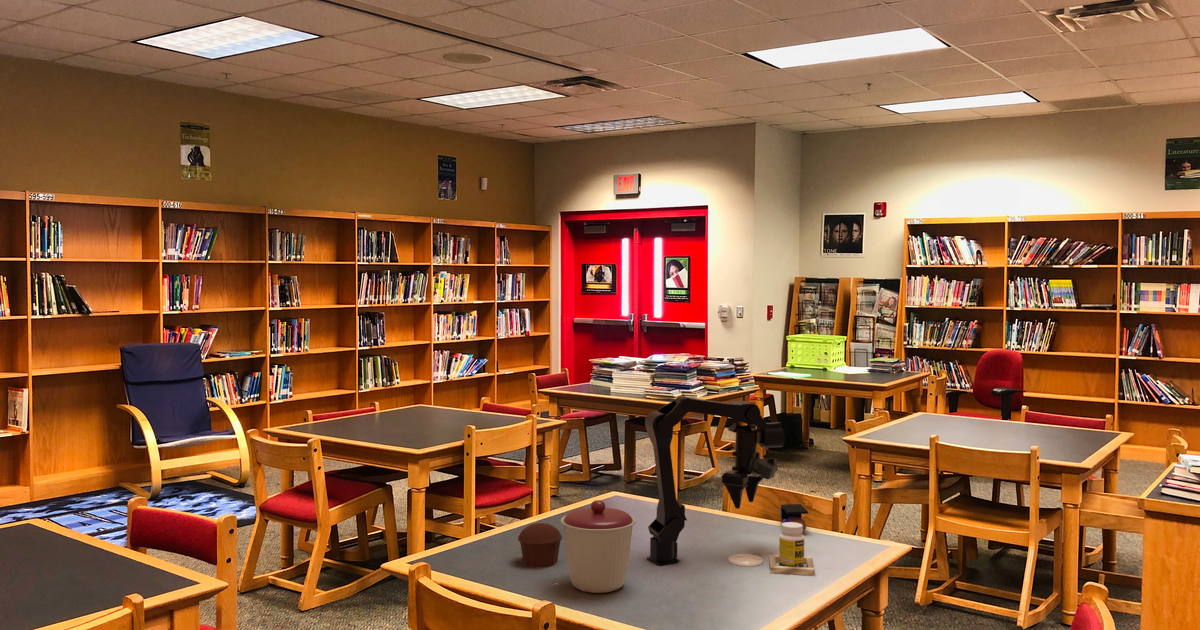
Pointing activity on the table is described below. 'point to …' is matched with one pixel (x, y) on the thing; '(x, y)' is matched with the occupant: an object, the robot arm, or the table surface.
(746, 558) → the coaster
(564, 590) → the table surface
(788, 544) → the supplement bottle
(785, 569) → the pocket frame
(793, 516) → the figurine character
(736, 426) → the robot arm
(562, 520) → the canister
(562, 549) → the table surface
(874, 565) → the table surface
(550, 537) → the muffin
